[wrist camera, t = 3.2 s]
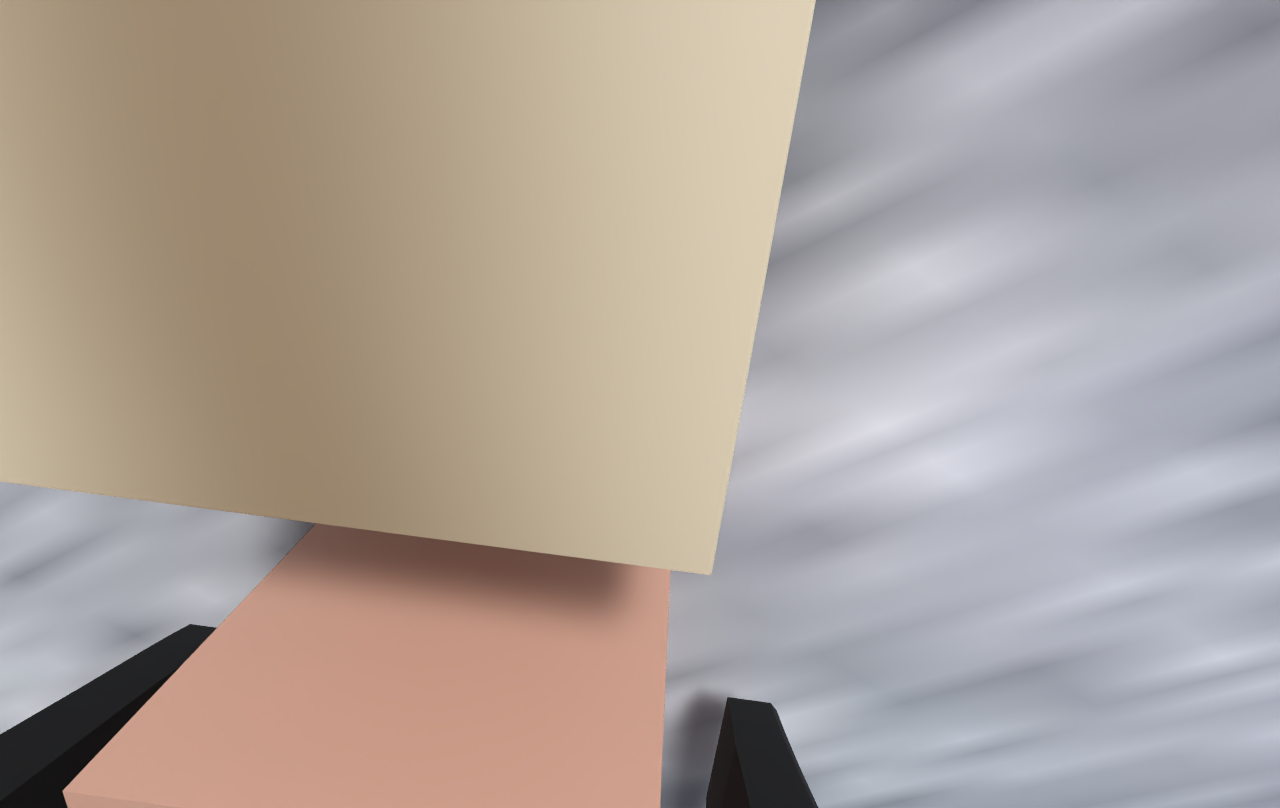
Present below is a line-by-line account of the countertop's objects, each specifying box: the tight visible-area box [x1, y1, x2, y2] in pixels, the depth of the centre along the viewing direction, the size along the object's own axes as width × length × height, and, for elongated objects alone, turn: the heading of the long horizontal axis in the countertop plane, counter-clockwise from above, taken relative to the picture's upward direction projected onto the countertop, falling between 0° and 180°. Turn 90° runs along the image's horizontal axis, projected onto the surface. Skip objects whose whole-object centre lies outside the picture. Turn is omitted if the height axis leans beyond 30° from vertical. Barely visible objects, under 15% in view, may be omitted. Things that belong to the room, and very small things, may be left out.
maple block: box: [0, 0, 816, 575], centre depth 6 cm, size 5×5×5 cm
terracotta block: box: [63, 523, 670, 808], centre depth 9 cm, size 5×5×5 cm
